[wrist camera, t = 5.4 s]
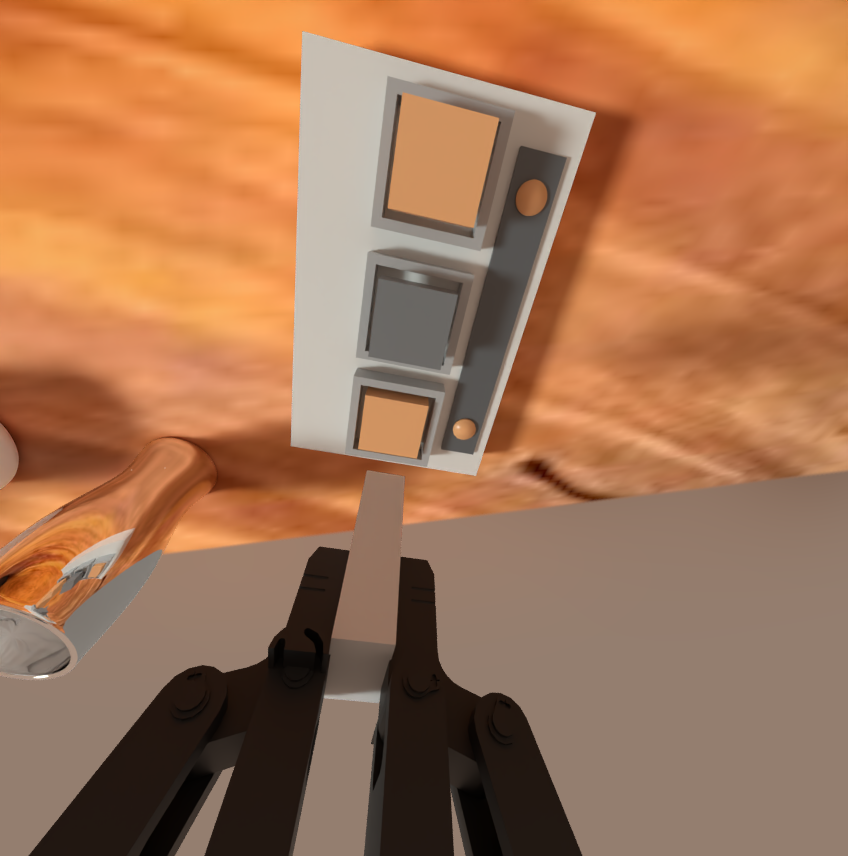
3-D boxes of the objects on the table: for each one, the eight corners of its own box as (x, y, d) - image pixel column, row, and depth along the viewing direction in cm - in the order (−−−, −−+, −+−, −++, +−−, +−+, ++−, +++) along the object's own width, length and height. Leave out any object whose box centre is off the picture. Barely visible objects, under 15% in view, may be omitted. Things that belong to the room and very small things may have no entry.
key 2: (404, 104, 16) (402, 92, 14) (492, 127, 16) (499, 118, 15) (390, 209, 18) (387, 208, 16) (469, 228, 18) (473, 227, 17)
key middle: (381, 274, 19) (378, 278, 18) (455, 290, 19) (457, 295, 18) (371, 348, 21) (368, 356, 19) (439, 361, 21) (440, 370, 20)
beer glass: (237, 491, 32) (110, 673, 19) (166, 505, 33) (-4, 690, 20) (196, 424, 29) (8, 587, 16) (118, 441, 29) (-125, 611, 16)
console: (318, 59, 19) (291, 13, 15) (572, 128, 20) (610, 103, 16) (302, 426, 29) (283, 457, 25) (470, 454, 30) (478, 487, 26)
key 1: (368, 385, 24) (365, 395, 22) (428, 396, 24) (428, 406, 23) (361, 437, 26) (358, 449, 24) (417, 446, 26) (416, 458, 25)
